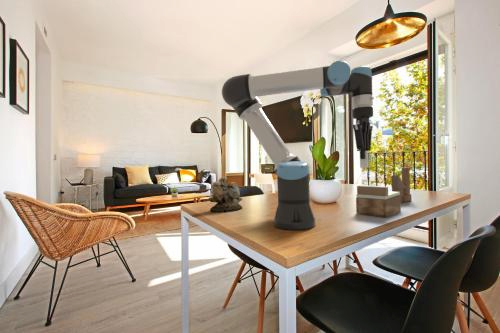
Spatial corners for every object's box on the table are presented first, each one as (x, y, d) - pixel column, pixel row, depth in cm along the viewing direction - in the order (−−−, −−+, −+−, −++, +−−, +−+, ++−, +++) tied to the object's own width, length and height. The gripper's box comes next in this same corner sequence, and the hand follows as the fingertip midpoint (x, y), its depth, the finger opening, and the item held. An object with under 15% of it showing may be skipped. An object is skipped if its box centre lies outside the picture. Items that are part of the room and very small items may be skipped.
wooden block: (391, 202, 134) (391, 168, 133) (405, 200, 138) (404, 167, 138) (398, 203, 130) (397, 168, 130) (411, 201, 135) (411, 167, 134)
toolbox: (356, 213, 109) (356, 197, 109) (372, 207, 120) (372, 193, 120) (386, 217, 100) (385, 200, 100) (400, 210, 112) (400, 195, 111)
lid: (356, 197, 109) (356, 186, 109) (372, 192, 120) (372, 182, 120) (385, 199, 100) (385, 187, 100) (399, 194, 112) (399, 183, 111)
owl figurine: (214, 214, 119) (212, 178, 119) (204, 211, 129) (203, 177, 129) (246, 209, 128) (245, 175, 128) (235, 206, 138) (234, 175, 138)
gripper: (364, 103, 93) (367, 168, 93) (378, 107, 101) (380, 166, 102) (345, 107, 98) (347, 168, 99) (360, 111, 107) (362, 166, 107)
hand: (364, 167), depth 100 cm, fingers closed
